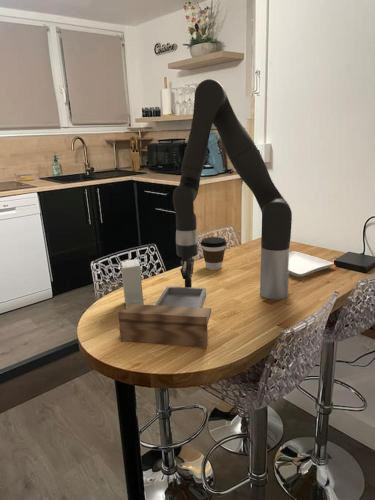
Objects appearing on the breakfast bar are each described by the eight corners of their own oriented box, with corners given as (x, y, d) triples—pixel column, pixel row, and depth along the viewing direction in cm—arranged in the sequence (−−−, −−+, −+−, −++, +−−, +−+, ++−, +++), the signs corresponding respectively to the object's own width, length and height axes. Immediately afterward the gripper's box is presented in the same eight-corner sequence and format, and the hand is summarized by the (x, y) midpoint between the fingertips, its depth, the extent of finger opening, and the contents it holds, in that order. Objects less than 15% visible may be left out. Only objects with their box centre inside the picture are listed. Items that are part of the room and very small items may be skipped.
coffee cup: (213, 273, 154) (213, 245, 151) (195, 267, 162) (194, 240, 159) (232, 267, 161) (232, 239, 158) (213, 261, 169) (213, 235, 166)
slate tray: (206, 296, 133) (206, 288, 133) (197, 319, 117) (197, 310, 116) (167, 294, 136) (166, 286, 135) (153, 317, 119) (152, 308, 118)
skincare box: (144, 309, 125) (141, 266, 121) (125, 311, 124) (122, 268, 120) (141, 298, 133) (138, 258, 129) (124, 301, 132) (120, 260, 127)
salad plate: (334, 269, 156) (335, 261, 155) (299, 282, 144) (300, 273, 143) (293, 257, 172) (294, 250, 171) (259, 267, 161) (259, 259, 160)
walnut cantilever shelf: (211, 330, 110) (211, 301, 107) (207, 348, 101) (206, 317, 98) (131, 325, 114) (129, 297, 112) (120, 341, 106) (117, 312, 103)
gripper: (194, 247, 126) (195, 295, 131) (200, 237, 138) (201, 281, 143) (171, 246, 127) (174, 294, 132) (180, 236, 140) (182, 280, 145)
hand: (188, 287), depth 138 cm, fingers closed
